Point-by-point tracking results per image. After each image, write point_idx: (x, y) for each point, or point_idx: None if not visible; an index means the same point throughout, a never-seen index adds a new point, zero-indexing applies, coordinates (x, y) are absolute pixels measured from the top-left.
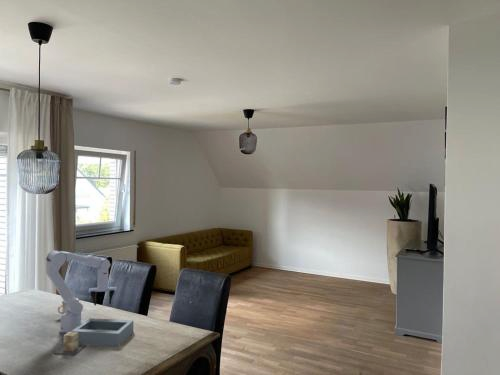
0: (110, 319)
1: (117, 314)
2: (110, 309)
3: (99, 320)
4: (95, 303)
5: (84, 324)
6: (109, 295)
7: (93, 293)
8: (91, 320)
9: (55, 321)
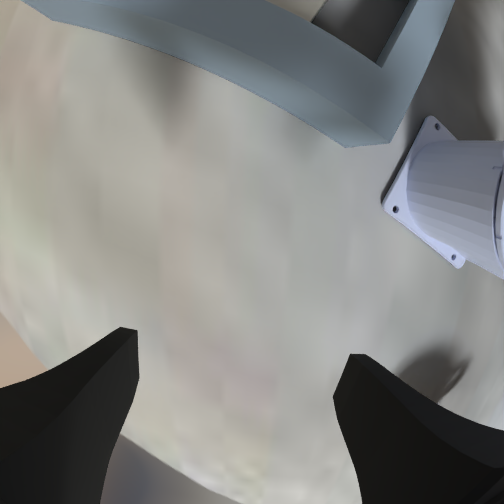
0: (165, 16)
1: (138, 397)
2: (191, 467)
3: (289, 25)
4: (367, 366)
5: (420, 3)
6: (41, 428)
7: (488, 496)
8: (374, 64)
9: (468, 368)
